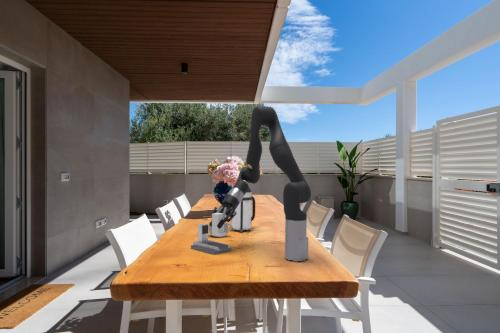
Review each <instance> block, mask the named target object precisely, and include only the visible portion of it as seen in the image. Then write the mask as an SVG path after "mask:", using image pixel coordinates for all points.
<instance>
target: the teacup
mask: <svg viewBox="0 0 500 333" xmlns="http://www.w3.org/2000/svg"><path fill="white" fill-rule="evenodd" d="M210 222H211V221H209V222H208V234H210V236H211V237H213V238H215V237H216V238H219V237H218V236H214V235H212V227H211V226H210V225H209V224H210ZM229 226H230V227H231V228H230V229H229V228H228V227H229ZM231 231H233V225H232V223H231V222H230V223H229V222H226V223H224V232H226V235H227V234H228V233H229V232H231ZM221 237H222V238H223V237H224V236H221ZM221 237H220V238H221Z"/></svg>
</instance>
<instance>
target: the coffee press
mask: <svg viewBox="0 0 500 333" xmlns="http://www.w3.org/2000/svg"><path fill="white" fill-rule="evenodd" d="M252 193H253V190H252V188H251V187H250V186H249V189H248V190H247V192H246V194H245V195H244V197H243V199H242V201H241V202H240V204H239V205H238V207H237V208H236V210H235V211H236V213H237V214H236V215H235V216H234V217H233V218H232V219H231V224H232V225H233V228H232V230H236V231H239V232H240V234H243V232H244V231H245V230H246V231H247V230H250V231H251V232H253V231H254V228H253V227H252V221H254V220H255V217H256V198H255V197H254V195H253V196H252ZM230 229H231V226H230V227H229V228H228V230H230Z"/></svg>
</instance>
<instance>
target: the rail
mask: <svg viewBox="0 0 500 333" xmlns="http://www.w3.org/2000/svg"><path fill="white" fill-rule="evenodd" d="M192 243H193V244H192V245H190V249H191V250H195V251H199V252H203V253H206V254H210V255H214V256H216V255H220V254H223V253H228V252H232V251H233V247H231V246H230V244H227V243H223V242H219V241H215V240H210V239H209V223H206V222H203V223H198V224H197V240H196V241H193V242H192Z"/></svg>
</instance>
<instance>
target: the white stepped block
mask: <svg viewBox="0 0 500 333" xmlns="http://www.w3.org/2000/svg"><path fill="white" fill-rule="evenodd" d="M211 215H212V217H211V221H212V235H214V236H218V237H217V238H221V236H223V237H226V236H227V234H226V232H224V225H223V226H222V227H221V228H220V229H219V228H218V227H217V225H218V223H219V222H220V220H222V217H223V213H213V214H212V213H211ZM212 235H211V236H212ZM214 236H213V237H214Z"/></svg>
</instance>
